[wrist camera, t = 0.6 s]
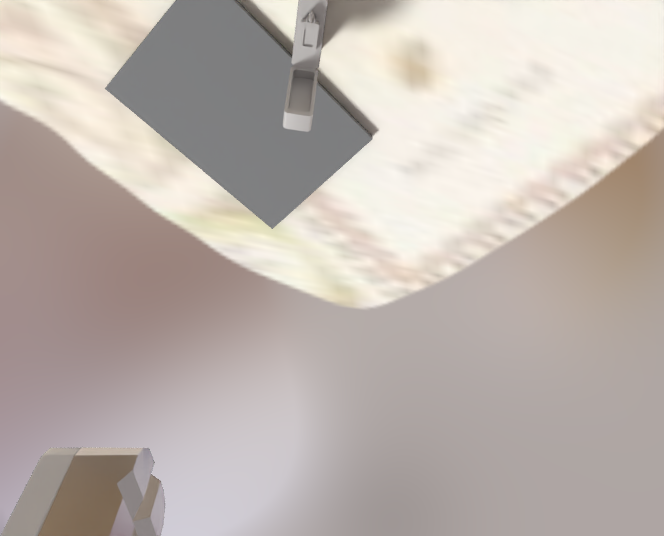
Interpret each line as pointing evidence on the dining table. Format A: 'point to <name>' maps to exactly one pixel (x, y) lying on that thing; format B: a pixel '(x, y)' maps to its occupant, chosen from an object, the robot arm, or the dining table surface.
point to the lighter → (305, 64)
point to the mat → (234, 106)
